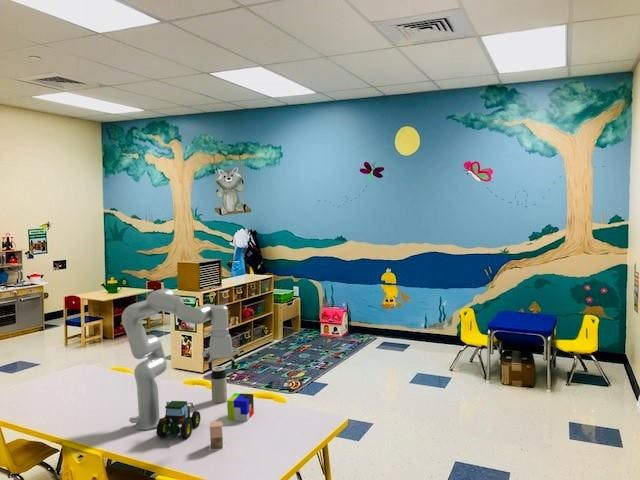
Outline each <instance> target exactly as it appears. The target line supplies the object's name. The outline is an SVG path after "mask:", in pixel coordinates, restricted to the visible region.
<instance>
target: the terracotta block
mask: <svg viewBox="0 0 640 480" xmlns="http://www.w3.org/2000/svg"><path fill="white" fill-rule="evenodd" d="M222 435H223V421H211V422H209V437H210V438H219V437H222ZM210 438H209V439H210Z"/></svg>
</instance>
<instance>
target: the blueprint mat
mask: <svg viewBox="0 0 640 480" xmlns="http://www.w3.org/2000/svg"><path fill="white" fill-rule="evenodd" d="M208 445H209V447H208V451H209V452H210V451H219V450H220V451H221V450H225V445H226V444H225V442H224V441H223V448H222V449H212V450H211V443H209V444H208Z"/></svg>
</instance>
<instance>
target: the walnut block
mask: <svg viewBox="0 0 640 480" xmlns="http://www.w3.org/2000/svg"><path fill="white" fill-rule="evenodd" d="M209 439H210V444H211V450H212V449H222V448H223V442H224V441H223V434H222V437H219V438H209ZM222 450H223V449H222ZM212 451H213V450H212Z"/></svg>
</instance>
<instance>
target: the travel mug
mask: <svg viewBox="0 0 640 480" xmlns="http://www.w3.org/2000/svg"><path fill="white" fill-rule="evenodd" d="M210 379H211V380H210V381H211V383H210V384H211V402H212V403H214V404H222V403H225V402H227V400H228V388H227V373H226V367H225V366H222V365H219V366H212V371H211V373H210Z"/></svg>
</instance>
